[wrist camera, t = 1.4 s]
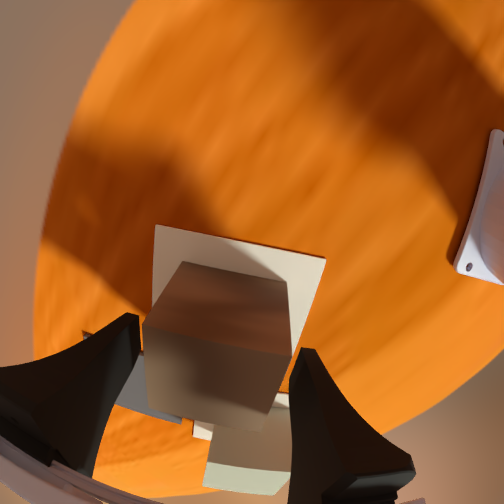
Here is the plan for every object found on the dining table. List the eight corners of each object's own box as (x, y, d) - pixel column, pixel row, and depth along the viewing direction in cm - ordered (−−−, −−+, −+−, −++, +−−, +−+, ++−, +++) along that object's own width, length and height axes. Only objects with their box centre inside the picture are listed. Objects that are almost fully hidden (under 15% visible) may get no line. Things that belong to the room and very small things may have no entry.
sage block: (293, 409, 17) (294, 472, 13) (275, 442, 19) (273, 495, 15) (219, 398, 17) (207, 461, 13) (212, 432, 19) (202, 486, 15)
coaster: (184, 363, 16) (183, 367, 16) (181, 421, 19) (180, 424, 19) (85, 333, 16) (83, 336, 16) (100, 395, 19) (99, 398, 19)
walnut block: (287, 282, 14) (292, 355, 9) (264, 358, 15) (260, 431, 11) (182, 260, 13) (142, 323, 9) (176, 339, 15) (148, 407, 11)
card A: (326, 258, 13) (326, 260, 13) (283, 377, 16) (283, 379, 16) (156, 224, 13) (155, 224, 13) (153, 350, 16) (152, 351, 16)
